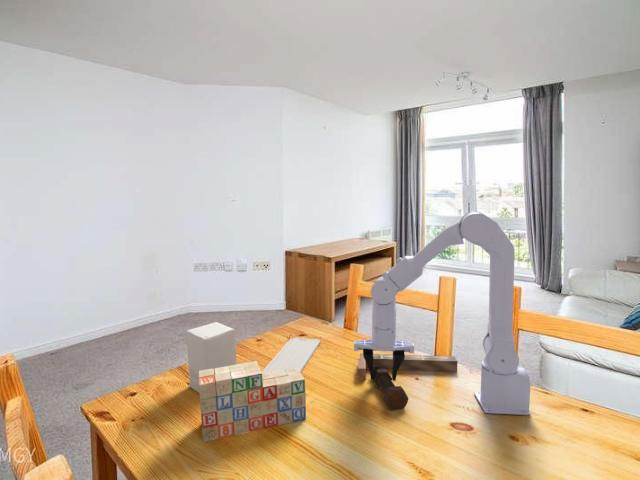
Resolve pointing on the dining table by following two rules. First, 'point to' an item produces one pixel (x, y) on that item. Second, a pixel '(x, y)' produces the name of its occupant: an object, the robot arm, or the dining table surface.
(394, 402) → the bolt
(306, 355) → the baseboard molding
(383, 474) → the dining table surface
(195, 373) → the supplement box
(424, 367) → the walnut fence
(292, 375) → the stack of blocks
